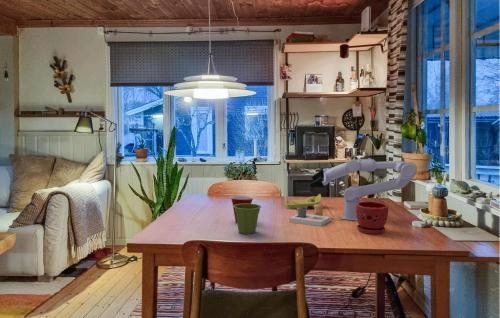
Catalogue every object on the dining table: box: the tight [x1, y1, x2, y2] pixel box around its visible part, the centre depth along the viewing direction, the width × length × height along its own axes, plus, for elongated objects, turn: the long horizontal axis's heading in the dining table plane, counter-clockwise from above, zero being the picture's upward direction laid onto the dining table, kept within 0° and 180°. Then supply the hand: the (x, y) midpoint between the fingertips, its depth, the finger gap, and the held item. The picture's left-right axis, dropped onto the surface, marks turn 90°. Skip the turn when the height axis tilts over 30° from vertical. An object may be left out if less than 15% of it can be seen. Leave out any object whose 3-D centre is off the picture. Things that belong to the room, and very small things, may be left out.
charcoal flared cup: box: [296, 207, 308, 218], centre depth 201 cm, size 5×5×6 cm
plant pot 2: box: [356, 200, 389, 235], centre depth 180 cm, size 13×13×12 cm
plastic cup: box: [230, 195, 254, 223], centre depth 198 cm, size 11×11×12 cm
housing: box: [288, 213, 332, 227], centre depth 200 cm, size 16×12×2 cm
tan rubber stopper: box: [313, 203, 325, 216], centre depth 209 cm, size 5×5×6 cm
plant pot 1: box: [232, 203, 262, 235], centre depth 179 cm, size 12×12×11 cm
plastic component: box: [284, 193, 323, 210], centre depth 234 cm, size 20×7×10 cm
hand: (311, 182), depth 213 cm, fingers open, 7 cm apart
